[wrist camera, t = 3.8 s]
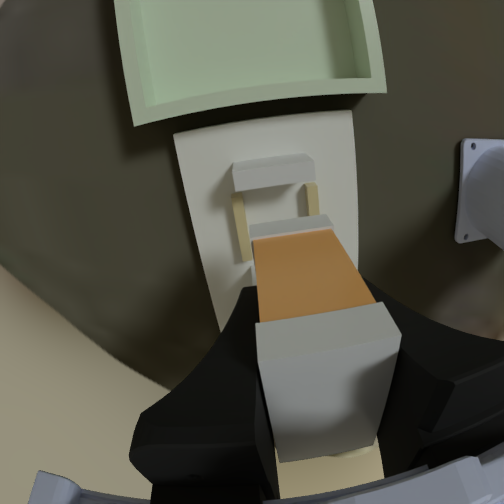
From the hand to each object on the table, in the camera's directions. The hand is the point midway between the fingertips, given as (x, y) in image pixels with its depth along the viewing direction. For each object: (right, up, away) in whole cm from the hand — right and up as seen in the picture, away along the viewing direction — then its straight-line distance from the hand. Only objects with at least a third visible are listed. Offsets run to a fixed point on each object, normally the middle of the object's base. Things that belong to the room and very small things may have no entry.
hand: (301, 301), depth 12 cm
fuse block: (0, +1, +10) cm, 10 cm away
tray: (-2, +16, +2) cm, 16 cm away
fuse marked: (0, +1, +2) cm, 2 cm away
